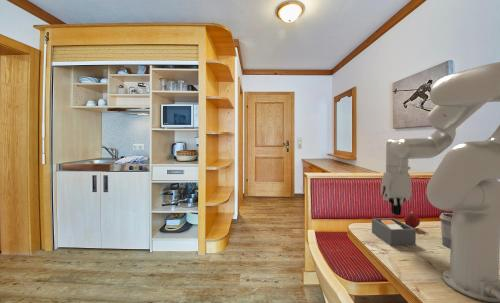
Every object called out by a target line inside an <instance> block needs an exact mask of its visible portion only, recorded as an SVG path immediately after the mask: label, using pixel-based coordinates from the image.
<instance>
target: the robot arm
mask: <svg viewBox="0 0 500 303" xmlns="http://www.w3.org/2000/svg"><path fill="white" fill-rule="evenodd" d="M429 100H430V101H431V103H432V104H433V105H435V106H434V107H433V108H432V109H431V110H429V111H430V112H428V113H427V115H426V119H427V121H428V123H429V125H430V126H431V127H432V128H434V129H435V131H433V133H431V134H430V135H429V136H428V137H423V138H422V137H420V138H417V137H416V138H401V139H399V138H397V139H395V138H394V139H388V140H387V141H386V144H385V145H386V146H385V147H386V148H385V171H384V172H383V175H382V179H381V184H380V185H381V187H380V195H381V196H382V201H383V200H384V201H386V202H389V204H390V205H391V206H390V207H391V208H390V210H391V214H392V215H395V216H401V213H402V206H403V205H404V202H406V201H410V200H411V196H412V190H413V189H412V178H411V174H410V172H409V170H411V166H409V160H410V159H411V160H414V159H419V160H420V159H432V158H435V157H437V156H439V155H440V154H442V153H443V152H444V151H445V150H447V149H448V148H449V147H450V146H451V145H452V144H453V143H454V141H455V138H456V134H457V131H456V130H457V129H458V127H460V126H461V125H462V124H463V123H465V122H466V121H467V120H468V119H469V118H470V117H472V116H473V115H474V114H475V113H476V112H477V111H479V110H480V109H481V108H482V107H483V106H485V105H486V104H487V103H495V102H496V103H497V102H498V103H499V102H500V61H498V62H492V63H489V64H484V65H480V66H476V67H472V68H469V69H468V68H467V69H465V70H461V71H458V72H453V73H450V74H448V75H445V76H443V77H441V78H439V80H437V81H436V82H435V83H434V84H433V85H432V87H431V88H430V91H429ZM499 180H500V124H499V125H498V126H497V128H496V129H495V131H494V132H493V133H492V134H491V135H490V137H488V138H487V139H486V140H481V141H480V140H477V141H475V140H474V141H466V142H462V143H459V144H456V145H455V146H453V147H452V148H451V149H449V150H448V151H447V152H446V154H445V155H444V156H443V158H442V160H441V162H440V163H439V165H438V166H437V168H436V169H435V170H434V172H433V174H432V176H431V177H430V179H429V181H428V183H427V185H426V197H427V201H428V202H429V203H430V204H431V205H432V207H434V208H436V209H439V210H441V211H446V212H453V213H452V214H453V216H452V220H451V248H450V249H449V250H450V254H449V257H450V258H449V259H450V260H449V269H448V270H447V269H446V270H445V271H443V272H442V279H443V281H444V282H445V283H446V284H447V285H448V286H449V287H450V288H452V289H454V290H455V291H457V292H459V293H462V294H463V295H465V296H468V297H470V298H473V299H477V300H480V301H484V302H490V303H500V279H499V278H500V276H499V275H500V181H499Z"/></svg>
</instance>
